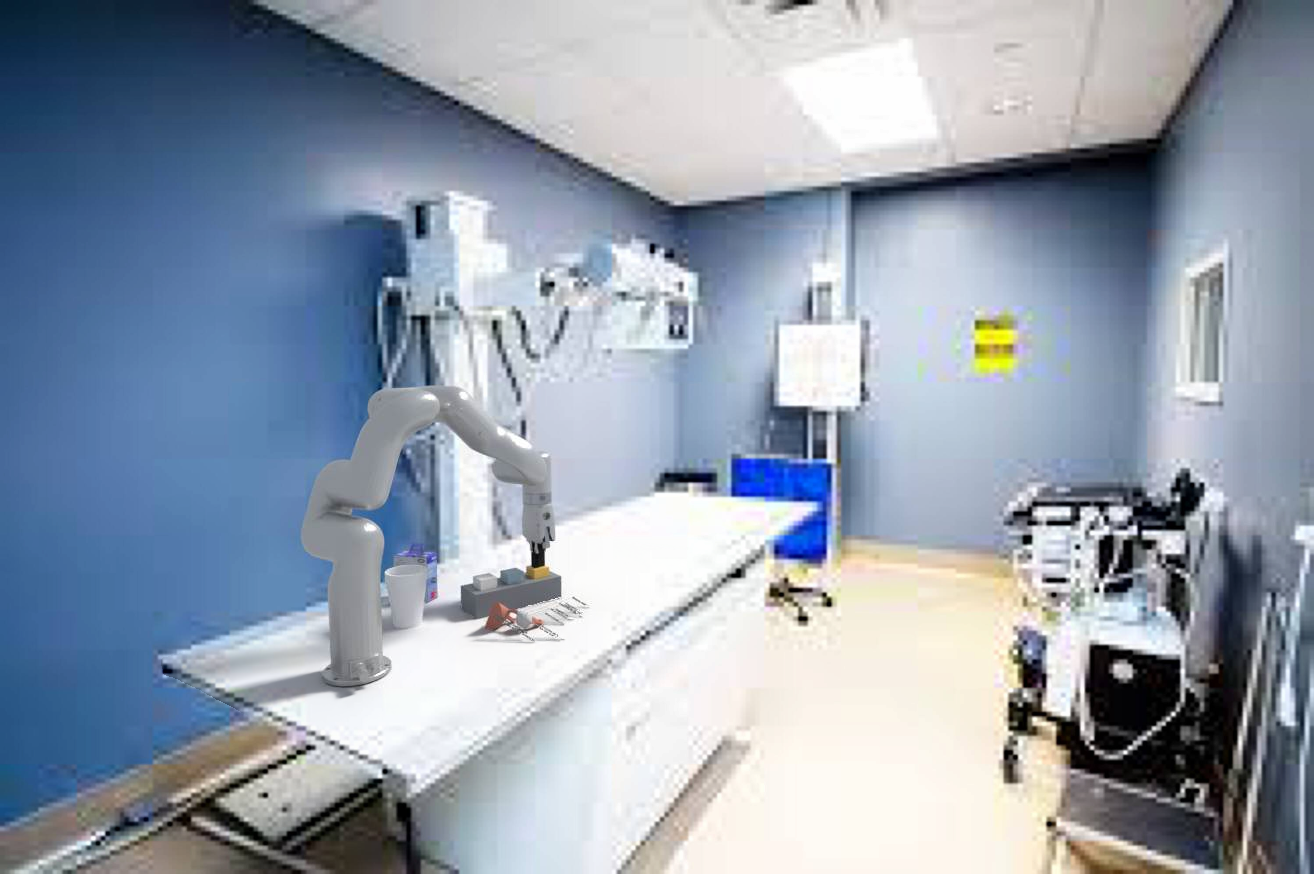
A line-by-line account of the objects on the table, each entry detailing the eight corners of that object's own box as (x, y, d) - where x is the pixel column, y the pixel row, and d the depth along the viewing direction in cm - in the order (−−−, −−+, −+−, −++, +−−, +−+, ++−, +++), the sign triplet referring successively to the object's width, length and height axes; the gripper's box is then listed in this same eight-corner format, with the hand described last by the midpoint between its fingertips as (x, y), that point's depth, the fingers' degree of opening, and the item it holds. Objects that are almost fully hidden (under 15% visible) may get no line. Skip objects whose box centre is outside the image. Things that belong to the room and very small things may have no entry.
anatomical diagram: (486, 604, 153) (540, 569, 176) (474, 636, 155) (529, 597, 179) (561, 650, 148) (607, 608, 171) (548, 683, 150) (595, 637, 174)
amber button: (549, 581, 179) (549, 567, 179) (534, 584, 177) (534, 570, 176) (540, 577, 183) (540, 563, 182) (526, 580, 180) (526, 566, 180)
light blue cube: (524, 586, 175) (523, 571, 174) (508, 590, 172) (508, 574, 171) (515, 582, 178) (515, 567, 178) (500, 585, 175) (500, 570, 175)
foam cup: (384, 632, 155) (382, 577, 154) (388, 618, 164) (386, 566, 163) (427, 628, 158) (426, 574, 157) (429, 614, 167) (428, 563, 165)
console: (561, 598, 179) (561, 576, 179) (476, 618, 164) (476, 595, 164) (544, 589, 186) (544, 568, 186) (461, 608, 171) (460, 585, 171)
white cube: (497, 592, 170) (497, 577, 169) (480, 596, 167) (480, 580, 167) (489, 588, 173) (489, 572, 173) (473, 591, 170) (472, 576, 170)
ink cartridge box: (439, 596, 180) (437, 543, 179) (428, 603, 175) (426, 548, 173) (405, 593, 182) (403, 541, 181) (393, 600, 177) (391, 546, 175)
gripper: (564, 501, 174) (565, 570, 176) (535, 492, 186) (536, 557, 187) (538, 504, 169) (539, 576, 171) (510, 495, 181) (512, 562, 183)
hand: (538, 566), depth 179 cm, fingers closed
